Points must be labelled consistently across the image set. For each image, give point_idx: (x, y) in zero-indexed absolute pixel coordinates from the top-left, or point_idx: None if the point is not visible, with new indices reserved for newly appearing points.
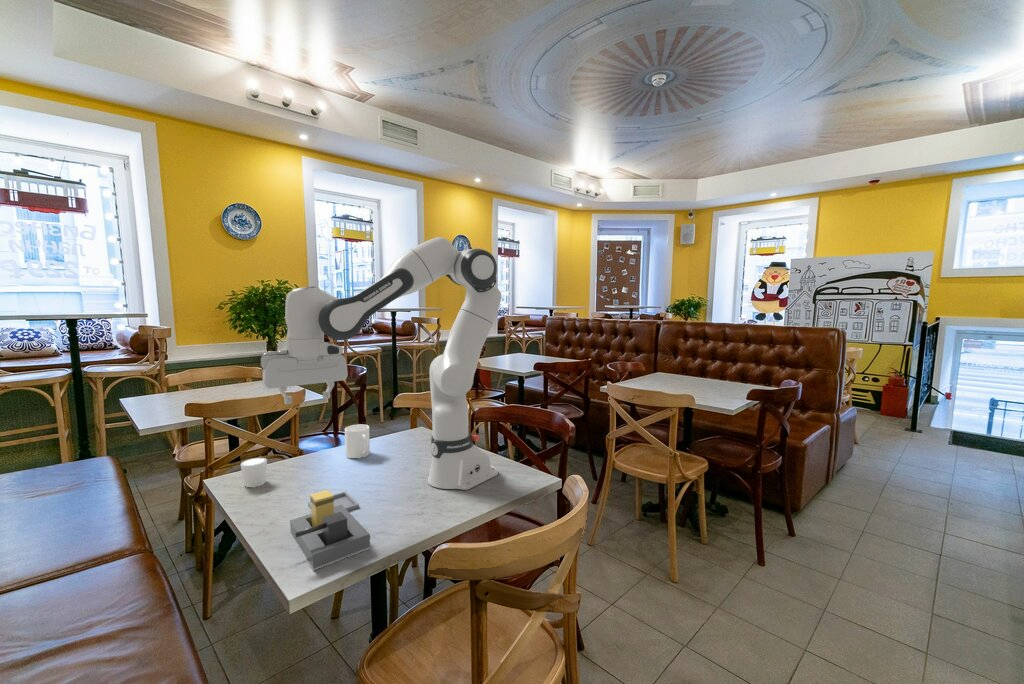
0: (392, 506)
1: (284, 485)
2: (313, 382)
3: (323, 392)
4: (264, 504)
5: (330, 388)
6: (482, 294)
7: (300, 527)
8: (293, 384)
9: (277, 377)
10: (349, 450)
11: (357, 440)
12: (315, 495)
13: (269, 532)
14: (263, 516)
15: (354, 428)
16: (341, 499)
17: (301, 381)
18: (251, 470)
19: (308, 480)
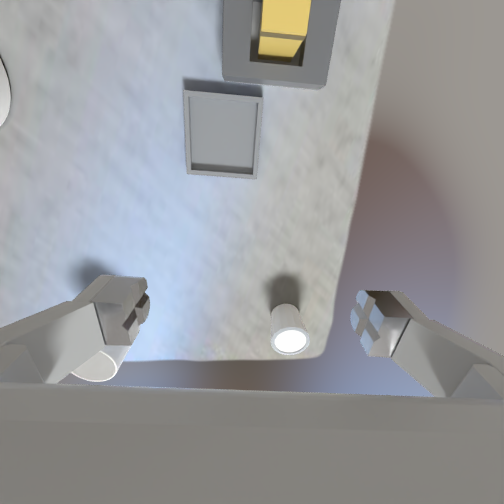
0: (121, 42)
1: (255, 283)
2: (202, 401)
3: (128, 326)
4: (302, 238)
5: (41, 321)
6: None
7: (326, 27)
8: (492, 413)
9: None
10: None
11: None
12: (300, 13)
13: (337, 129)
14: (319, 197)
15: (97, 373)
16: (201, 156)
17: (400, 450)
18: (298, 322)
19: (220, 277)
